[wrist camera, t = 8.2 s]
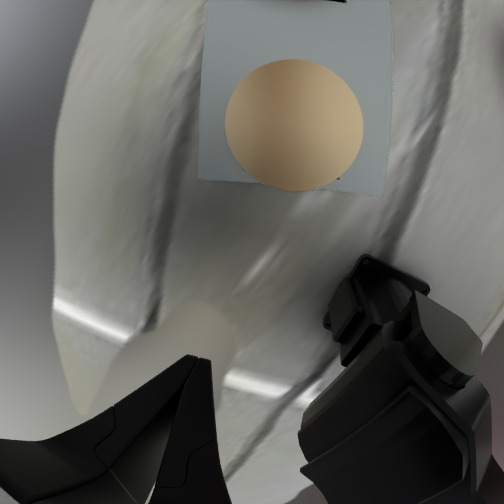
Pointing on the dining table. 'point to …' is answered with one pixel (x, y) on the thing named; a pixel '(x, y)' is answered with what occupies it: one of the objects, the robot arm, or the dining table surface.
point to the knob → (294, 125)
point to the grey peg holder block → (303, 48)
